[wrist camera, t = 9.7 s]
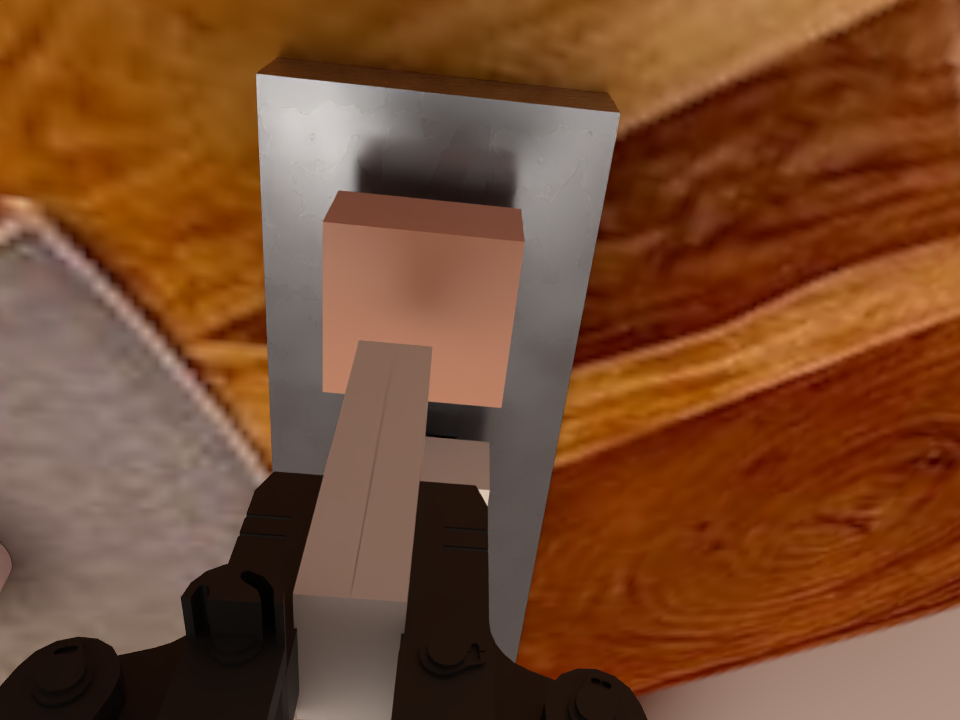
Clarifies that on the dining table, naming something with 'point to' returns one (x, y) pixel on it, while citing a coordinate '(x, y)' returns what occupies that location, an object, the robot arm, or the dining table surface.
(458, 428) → the console
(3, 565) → the smoothie
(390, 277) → the terracotta key
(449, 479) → the white key
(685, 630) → the dining table surface
